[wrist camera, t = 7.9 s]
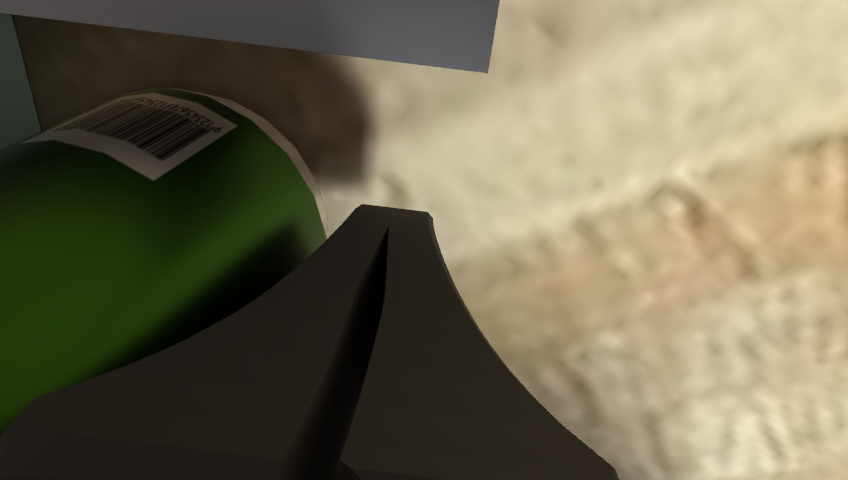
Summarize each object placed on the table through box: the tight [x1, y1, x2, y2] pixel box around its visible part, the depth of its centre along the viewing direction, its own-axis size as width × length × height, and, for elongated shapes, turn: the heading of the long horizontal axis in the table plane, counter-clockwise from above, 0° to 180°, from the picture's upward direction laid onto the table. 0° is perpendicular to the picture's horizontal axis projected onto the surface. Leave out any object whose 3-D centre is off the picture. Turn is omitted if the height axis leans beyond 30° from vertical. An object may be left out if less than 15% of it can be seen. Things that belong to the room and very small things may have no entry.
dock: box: [0, 0, 499, 150], centre depth 12 cm, size 10×10×2 cm
